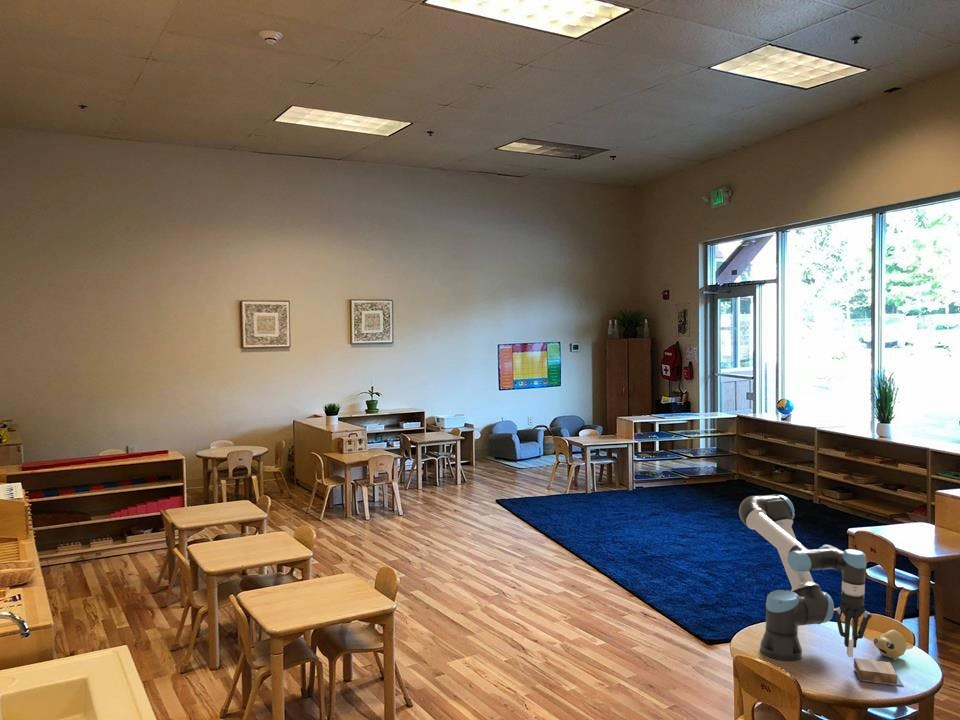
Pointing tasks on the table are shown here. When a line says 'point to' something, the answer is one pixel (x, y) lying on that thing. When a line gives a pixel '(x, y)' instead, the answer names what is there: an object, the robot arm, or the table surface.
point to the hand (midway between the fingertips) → (849, 655)
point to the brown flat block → (875, 671)
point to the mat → (895, 684)
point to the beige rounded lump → (891, 644)
